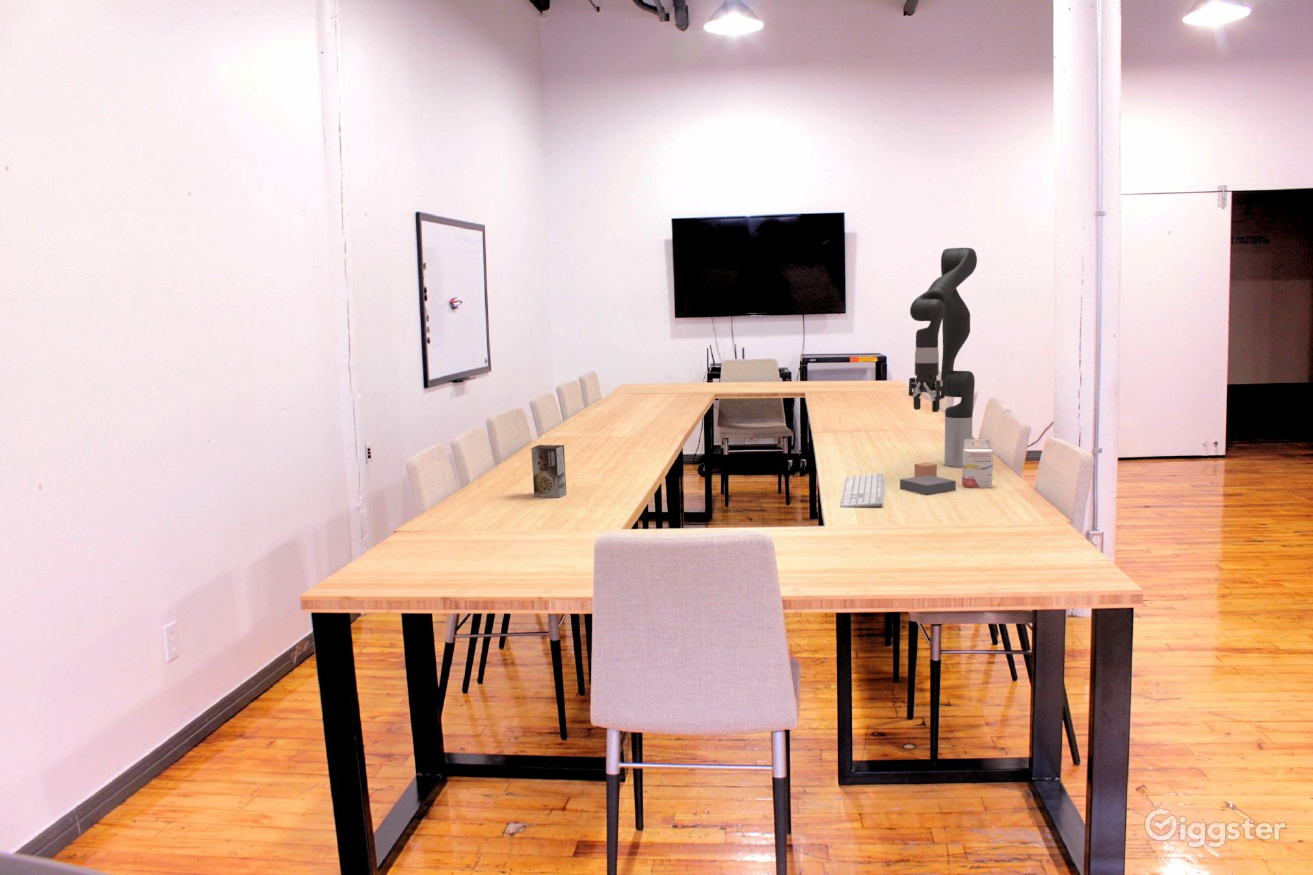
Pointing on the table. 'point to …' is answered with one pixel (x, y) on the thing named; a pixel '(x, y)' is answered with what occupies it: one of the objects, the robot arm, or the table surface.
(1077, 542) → the table surface
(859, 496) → the keyboard
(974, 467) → the ink cartridge box
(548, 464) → the coffee box
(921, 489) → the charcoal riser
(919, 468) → the terracotta cube
